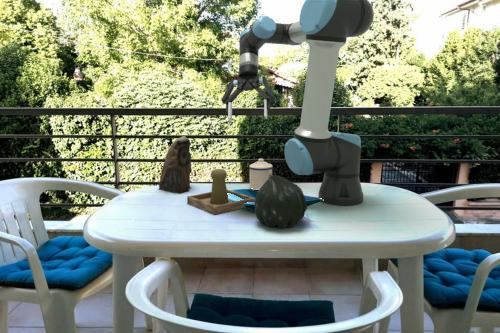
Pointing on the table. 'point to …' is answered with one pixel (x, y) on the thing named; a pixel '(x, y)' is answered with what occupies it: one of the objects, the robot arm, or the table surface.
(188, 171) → the owl
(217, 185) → the cork
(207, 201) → the tray
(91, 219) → the table surface
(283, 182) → the squash
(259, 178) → the teacup with lid
